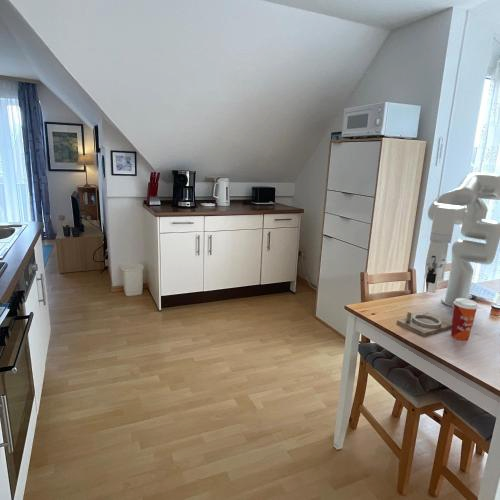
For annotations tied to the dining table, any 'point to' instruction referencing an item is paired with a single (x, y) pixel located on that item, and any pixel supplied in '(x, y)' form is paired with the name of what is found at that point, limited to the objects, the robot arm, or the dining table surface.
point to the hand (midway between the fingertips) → (433, 280)
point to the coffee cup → (463, 318)
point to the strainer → (439, 276)
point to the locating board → (425, 323)
